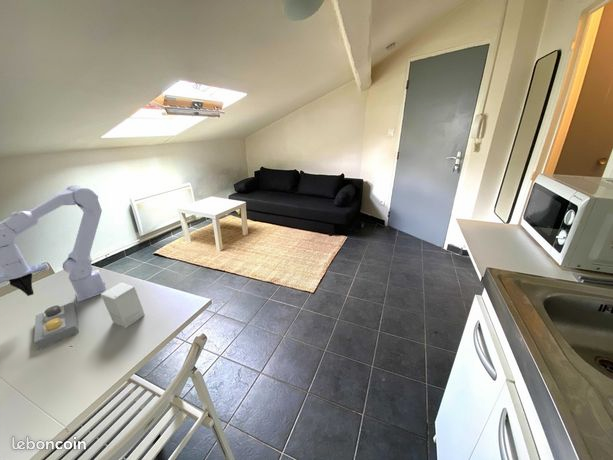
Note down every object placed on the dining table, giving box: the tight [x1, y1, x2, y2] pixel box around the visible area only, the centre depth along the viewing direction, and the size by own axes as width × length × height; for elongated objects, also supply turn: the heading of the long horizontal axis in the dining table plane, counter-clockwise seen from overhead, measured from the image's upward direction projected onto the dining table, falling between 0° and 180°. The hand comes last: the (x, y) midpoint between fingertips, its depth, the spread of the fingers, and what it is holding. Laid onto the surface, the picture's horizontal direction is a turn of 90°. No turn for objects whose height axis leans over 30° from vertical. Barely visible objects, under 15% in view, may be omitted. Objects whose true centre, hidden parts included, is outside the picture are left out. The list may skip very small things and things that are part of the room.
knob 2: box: [44, 318, 62, 331], centre depth 86 cm, size 4×4×5 cm
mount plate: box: [33, 301, 79, 350], centre depth 89 cm, size 10×16×4 cm, turn 42°
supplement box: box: [100, 281, 146, 329], centre depth 91 cm, size 7×7×13 cm
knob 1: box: [43, 305, 61, 317], centre depth 92 cm, size 4×4×5 cm
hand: (30, 293), depth 91 cm, fingers closed
